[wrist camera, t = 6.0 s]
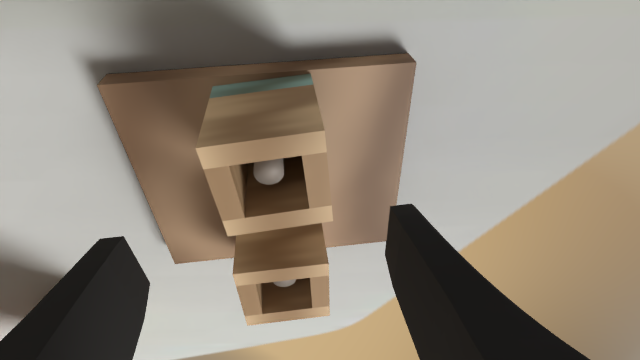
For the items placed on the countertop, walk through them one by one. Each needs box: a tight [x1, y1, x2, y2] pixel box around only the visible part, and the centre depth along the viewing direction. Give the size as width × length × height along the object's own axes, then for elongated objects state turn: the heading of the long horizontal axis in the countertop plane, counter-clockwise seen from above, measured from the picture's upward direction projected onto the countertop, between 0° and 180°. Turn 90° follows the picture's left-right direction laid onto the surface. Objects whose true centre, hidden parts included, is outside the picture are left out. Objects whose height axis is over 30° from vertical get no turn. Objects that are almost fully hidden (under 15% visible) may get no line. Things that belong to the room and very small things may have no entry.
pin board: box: [97, 53, 416, 287], centre depth 19 cm, size 14×12×5 cm
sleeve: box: [196, 73, 333, 236], centre depth 16 cm, size 4×4×5 cm
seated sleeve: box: [233, 223, 330, 326], centre depth 20 cm, size 4×4×5 cm
